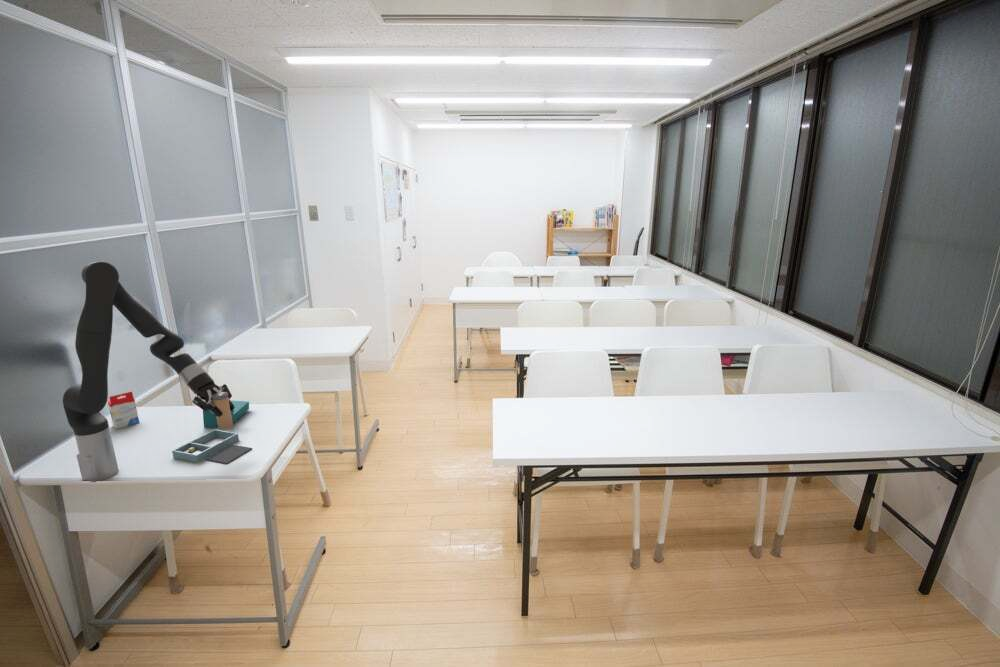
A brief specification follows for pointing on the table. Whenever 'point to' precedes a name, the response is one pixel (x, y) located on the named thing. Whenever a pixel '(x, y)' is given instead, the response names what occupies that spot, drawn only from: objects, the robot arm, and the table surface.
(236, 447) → the black mat
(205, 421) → the teal notched block
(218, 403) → the brown canister
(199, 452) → the parts tub
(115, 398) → the ink box
